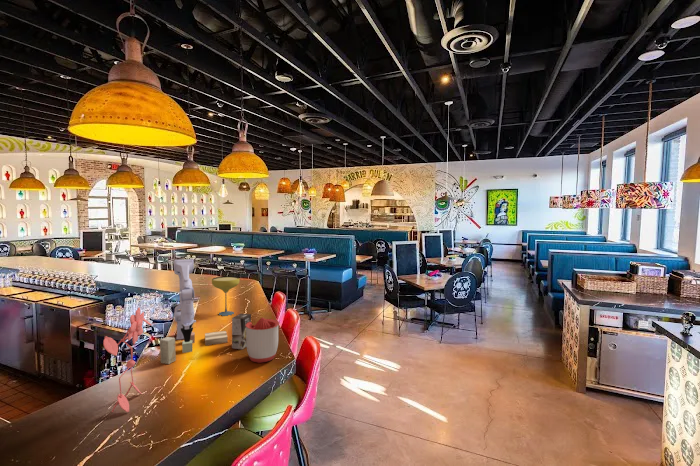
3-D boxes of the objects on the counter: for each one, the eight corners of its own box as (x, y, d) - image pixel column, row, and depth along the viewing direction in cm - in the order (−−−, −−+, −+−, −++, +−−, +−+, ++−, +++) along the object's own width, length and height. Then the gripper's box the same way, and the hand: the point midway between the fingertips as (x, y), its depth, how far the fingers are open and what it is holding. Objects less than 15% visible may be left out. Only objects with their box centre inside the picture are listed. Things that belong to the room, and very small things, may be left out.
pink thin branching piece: (95, 427, 108) (96, 320, 107) (131, 387, 134) (132, 300, 132) (147, 423, 111) (148, 319, 110) (173, 385, 136) (174, 300, 135)
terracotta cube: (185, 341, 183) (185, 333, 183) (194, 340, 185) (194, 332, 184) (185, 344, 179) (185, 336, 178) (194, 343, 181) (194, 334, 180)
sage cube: (182, 349, 171) (182, 341, 171) (192, 348, 173) (192, 339, 173) (182, 353, 167) (182, 344, 167) (192, 351, 169) (192, 342, 169)
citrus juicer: (266, 348, 175) (266, 310, 174) (285, 358, 163) (285, 317, 162) (238, 356, 164) (238, 316, 163) (255, 368, 152) (255, 324, 151)
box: (176, 360, 158) (175, 337, 158) (168, 364, 154) (168, 340, 154) (167, 359, 160) (167, 336, 159) (159, 362, 156) (159, 339, 155)
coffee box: (242, 349, 172) (242, 318, 172) (231, 348, 174) (231, 317, 173) (251, 343, 181) (251, 313, 181) (240, 342, 183) (240, 312, 182)
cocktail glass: (245, 312, 237) (244, 278, 236) (223, 319, 222) (223, 282, 221) (228, 308, 247) (228, 275, 246) (206, 314, 232) (206, 278, 230)
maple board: (205, 338, 187) (204, 333, 187) (225, 335, 192) (225, 330, 192) (205, 345, 177) (205, 340, 177) (227, 342, 182) (227, 337, 182)
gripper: (195, 315, 165) (196, 342, 165) (195, 308, 178) (196, 333, 178) (179, 317, 162) (180, 345, 162) (180, 309, 175) (181, 335, 175)
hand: (187, 339), depth 170 cm, fingers open, 7 cm apart
